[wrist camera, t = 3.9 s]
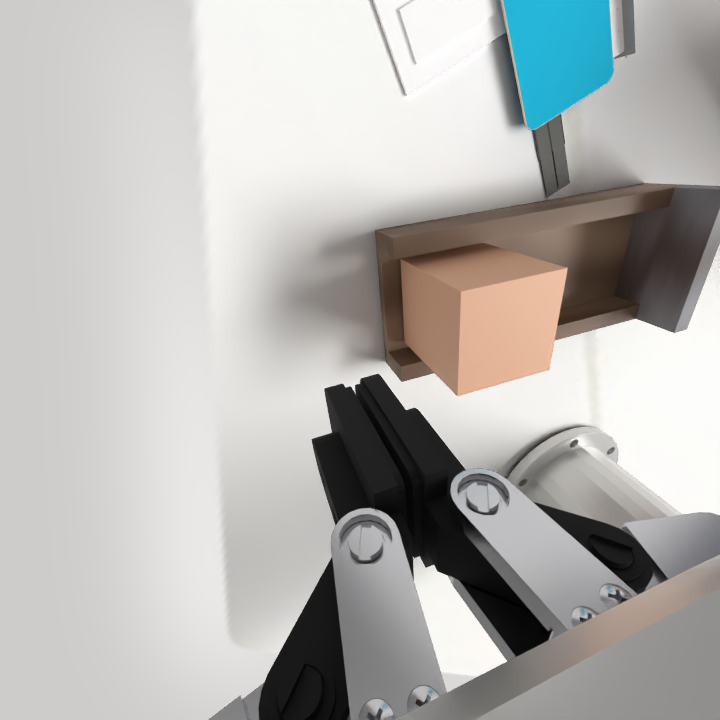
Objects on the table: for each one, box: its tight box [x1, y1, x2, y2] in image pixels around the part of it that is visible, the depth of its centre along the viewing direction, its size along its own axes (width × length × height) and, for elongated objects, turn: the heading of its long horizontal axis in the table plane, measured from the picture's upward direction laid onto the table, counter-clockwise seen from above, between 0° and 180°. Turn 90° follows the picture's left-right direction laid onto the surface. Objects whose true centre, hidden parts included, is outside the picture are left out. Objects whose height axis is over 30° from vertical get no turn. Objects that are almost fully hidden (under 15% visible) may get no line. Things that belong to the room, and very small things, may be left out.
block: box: [400, 243, 568, 396], centre depth 18 cm, size 5×5×6 cm
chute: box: [375, 183, 720, 382], centre depth 20 cm, size 8×18×5 cm, turn 96°
